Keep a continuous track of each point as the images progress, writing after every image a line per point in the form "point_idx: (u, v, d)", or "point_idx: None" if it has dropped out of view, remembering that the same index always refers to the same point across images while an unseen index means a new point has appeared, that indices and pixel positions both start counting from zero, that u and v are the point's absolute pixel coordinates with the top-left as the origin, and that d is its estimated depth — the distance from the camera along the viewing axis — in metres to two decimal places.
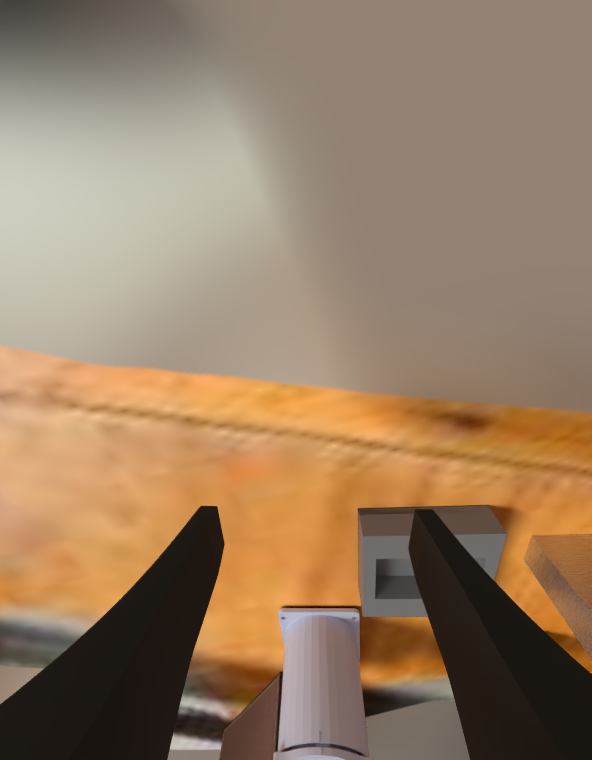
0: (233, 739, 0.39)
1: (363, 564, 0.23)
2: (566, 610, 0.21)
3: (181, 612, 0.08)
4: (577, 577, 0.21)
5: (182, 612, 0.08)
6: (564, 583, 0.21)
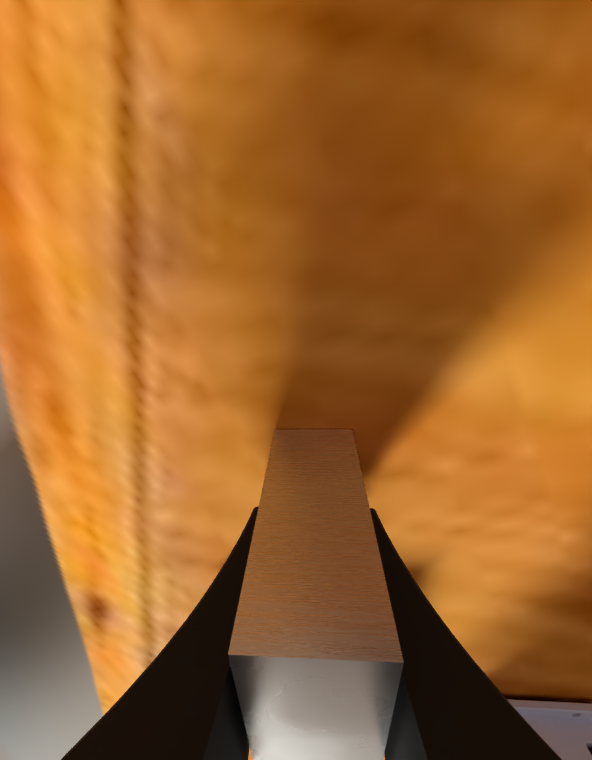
0: None
1: None
2: None
3: None
4: None
5: None
6: None
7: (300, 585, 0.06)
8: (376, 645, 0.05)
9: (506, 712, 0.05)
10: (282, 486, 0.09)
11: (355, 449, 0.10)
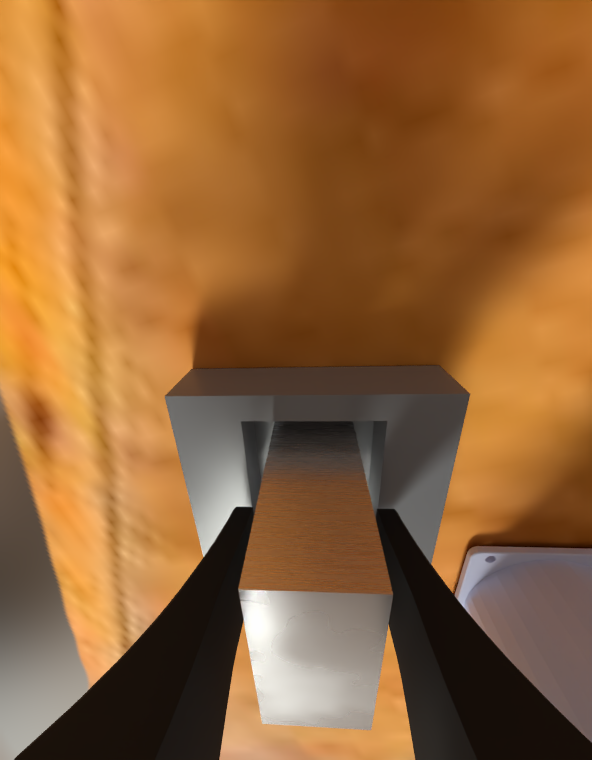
0: None
1: None
2: None
3: (228, 614, 0.08)
4: None
5: (228, 614, 0.08)
6: None
7: (302, 536, 0.07)
8: (369, 581, 0.06)
9: (551, 715, 0.05)
10: (285, 458, 0.09)
11: (353, 427, 0.11)
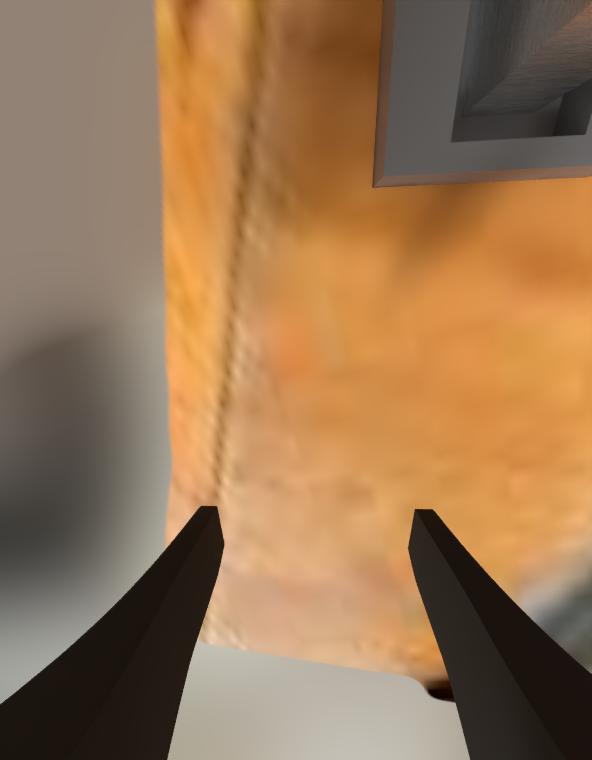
0: None
1: (463, 170, 0.12)
2: None
3: (181, 613, 0.08)
4: (517, 37, 0.09)
5: (182, 612, 0.08)
6: (526, 71, 0.09)
7: None
8: None
9: None
10: None
11: None
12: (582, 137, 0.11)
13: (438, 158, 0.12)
